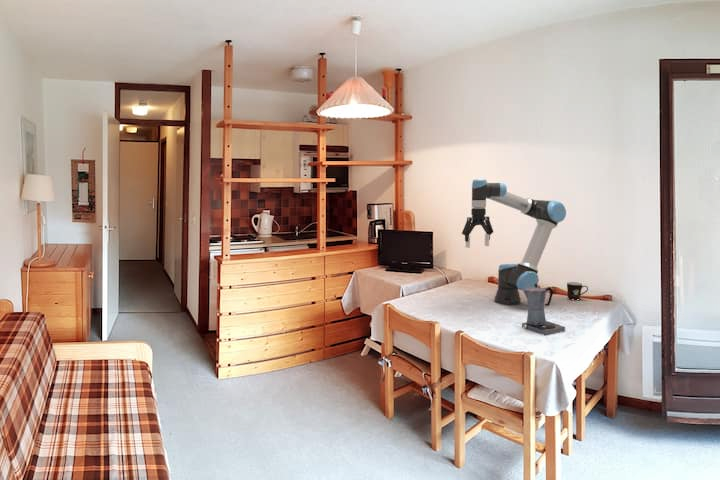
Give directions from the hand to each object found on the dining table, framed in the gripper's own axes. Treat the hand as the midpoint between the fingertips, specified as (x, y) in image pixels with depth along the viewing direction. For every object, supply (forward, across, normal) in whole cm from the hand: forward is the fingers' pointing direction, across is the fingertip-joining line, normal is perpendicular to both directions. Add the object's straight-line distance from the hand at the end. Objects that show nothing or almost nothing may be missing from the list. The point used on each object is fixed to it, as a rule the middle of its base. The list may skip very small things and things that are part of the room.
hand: (477, 246), depth 255 cm
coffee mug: (+37, -73, +8) cm, 82 cm away
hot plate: (+37, -9, +39) cm, 54 cm away
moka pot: (+35, -8, +36) cm, 51 cm away
